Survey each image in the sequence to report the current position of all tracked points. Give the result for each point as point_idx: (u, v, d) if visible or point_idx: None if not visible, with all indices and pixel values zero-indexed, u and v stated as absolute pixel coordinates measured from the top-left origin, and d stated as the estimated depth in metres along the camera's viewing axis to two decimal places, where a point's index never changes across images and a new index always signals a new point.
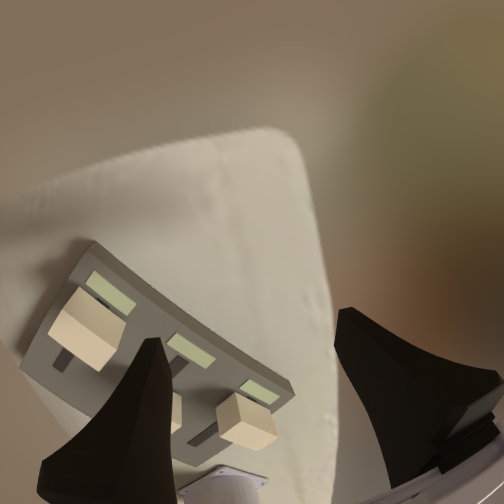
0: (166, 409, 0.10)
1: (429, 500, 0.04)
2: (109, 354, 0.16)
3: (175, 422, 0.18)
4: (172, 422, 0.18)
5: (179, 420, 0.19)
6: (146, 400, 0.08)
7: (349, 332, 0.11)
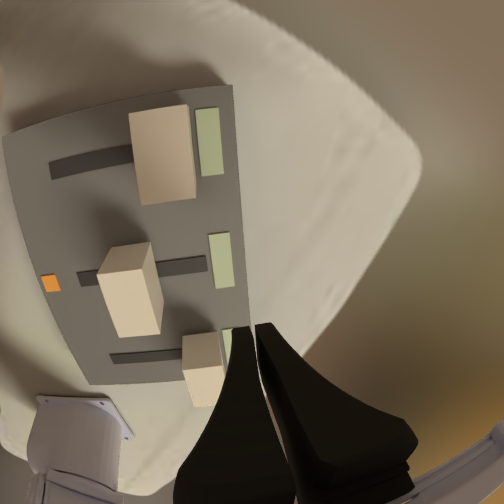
0: None
1: (429, 500, 0.04)
2: (181, 196, 0.12)
3: (157, 325, 0.15)
4: (155, 323, 0.15)
5: (160, 326, 0.16)
6: None
7: (261, 350, 0.10)
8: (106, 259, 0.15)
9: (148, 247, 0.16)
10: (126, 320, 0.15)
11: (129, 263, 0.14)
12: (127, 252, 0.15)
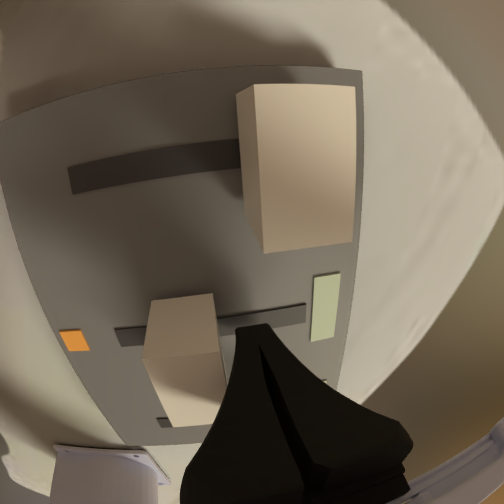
0: None
1: (429, 500, 0.04)
2: (331, 238, 0.08)
3: None
4: None
5: None
6: None
7: None
8: (150, 325, 0.10)
9: (213, 304, 0.11)
10: (186, 410, 0.10)
11: (193, 337, 0.09)
12: (181, 314, 0.10)
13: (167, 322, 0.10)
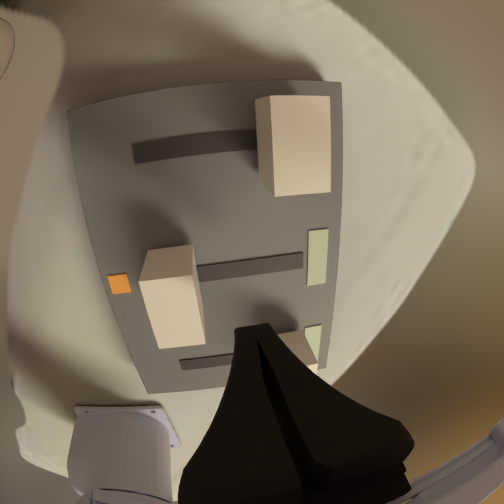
0: None
1: (429, 500, 0.04)
2: (316, 189, 0.12)
3: (203, 335, 0.14)
4: (201, 333, 0.14)
5: (204, 335, 0.15)
6: None
7: None
8: (145, 263, 0.14)
9: (192, 250, 0.15)
10: (169, 330, 0.14)
11: (175, 268, 0.13)
12: (169, 256, 0.15)
13: (158, 261, 0.14)
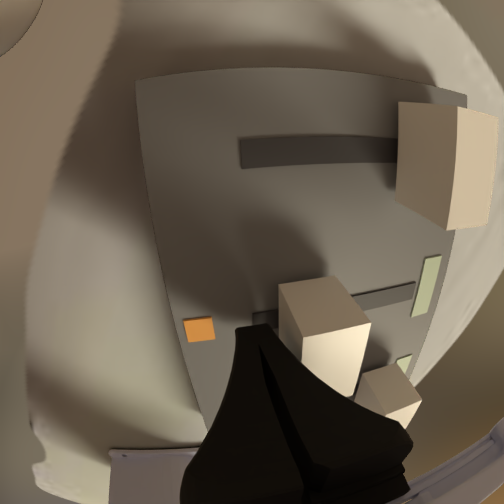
0: None
1: (429, 500, 0.04)
2: (478, 221, 0.08)
3: (354, 386, 0.11)
4: (353, 384, 0.11)
5: None
6: None
7: None
8: (292, 307, 0.11)
9: (341, 284, 0.12)
10: None
11: (341, 313, 0.10)
12: (317, 294, 0.11)
13: (308, 302, 0.11)
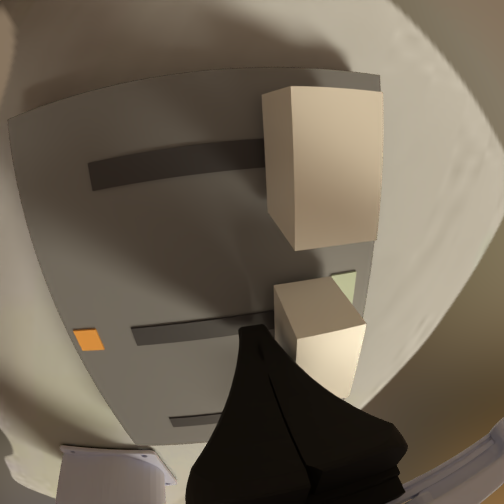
0: None
1: (429, 500, 0.04)
2: (357, 236, 0.08)
3: (349, 387, 0.11)
4: (349, 386, 0.11)
5: None
6: None
7: None
8: (286, 308, 0.10)
9: (336, 285, 0.12)
10: None
11: (336, 315, 0.10)
12: (312, 295, 0.11)
13: (303, 303, 0.11)
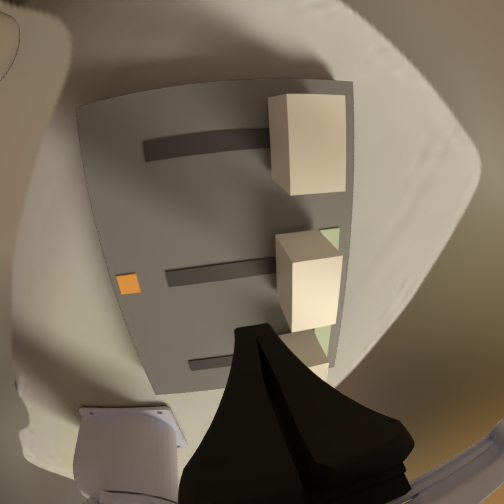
0: None
1: (429, 500, 0.04)
2: (332, 188, 0.12)
3: (335, 315, 0.15)
4: (335, 313, 0.15)
5: None
6: None
7: None
8: (284, 247, 0.15)
9: (322, 235, 0.16)
10: (307, 312, 0.15)
11: (321, 250, 0.14)
12: (304, 240, 0.15)
13: (297, 244, 0.15)
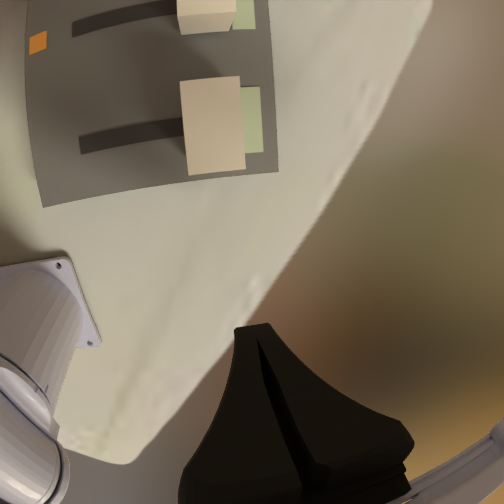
0: None
1: (429, 500, 0.04)
2: None
3: (235, 2, 0.09)
4: None
5: None
6: None
7: None
8: None
9: None
10: None
11: None
12: None
13: None
